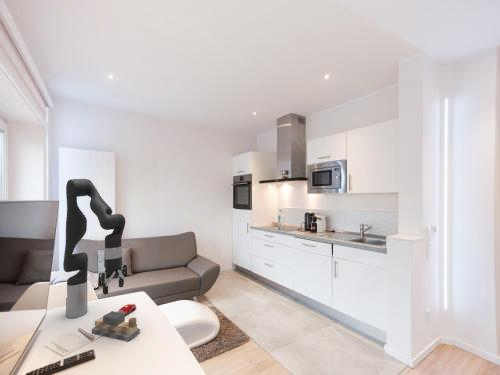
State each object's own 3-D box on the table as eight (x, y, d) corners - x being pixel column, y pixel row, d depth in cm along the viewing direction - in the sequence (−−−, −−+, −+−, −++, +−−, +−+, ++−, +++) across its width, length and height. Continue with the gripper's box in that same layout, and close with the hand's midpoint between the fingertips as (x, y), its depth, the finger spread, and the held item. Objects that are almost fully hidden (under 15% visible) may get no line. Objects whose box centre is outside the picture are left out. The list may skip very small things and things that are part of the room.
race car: (119, 321, 127) (118, 313, 127) (110, 319, 129) (110, 312, 129) (137, 309, 140) (137, 302, 140) (130, 308, 141) (130, 301, 141)
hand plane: (91, 333, 116) (91, 316, 116) (104, 325, 122) (104, 309, 123) (129, 341, 109) (129, 323, 109) (140, 333, 115) (140, 316, 115)
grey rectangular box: (103, 323, 115) (102, 316, 115) (112, 318, 120) (112, 311, 120) (116, 326, 112) (116, 318, 112) (124, 320, 117) (124, 313, 117)
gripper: (119, 252, 124) (119, 284, 124) (93, 259, 111) (93, 295, 111) (131, 253, 122) (131, 285, 122) (106, 261, 108) (106, 297, 108)
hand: (113, 290), depth 116 cm, fingers open, 8 cm apart
